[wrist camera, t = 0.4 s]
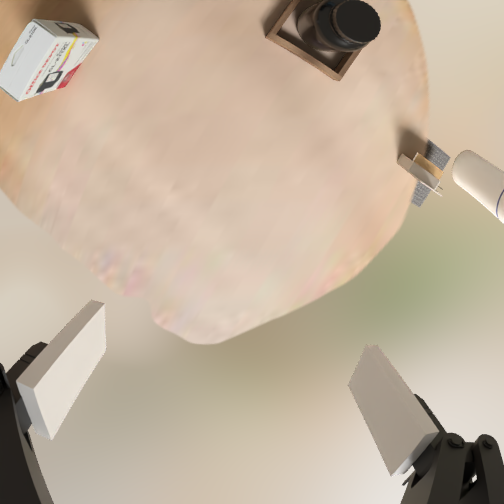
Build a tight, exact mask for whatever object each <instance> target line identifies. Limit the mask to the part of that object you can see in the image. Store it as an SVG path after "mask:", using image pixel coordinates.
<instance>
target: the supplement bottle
mask: <svg viewBox="0 0 504 504" xmlns="http://www.w3.org/2000/svg"><path fill="white" fill-rule="evenodd" d="M380 23H381V21H380V18H379V16H378V13H377V12H376V11H375V9H373V8H372V6H370V5H369V4H368V3H365V2H364V1H360V0H323V1H321V2H319V3H317V4H315V5H313V6H311V7H309V8H307V9H306V10H305V11H303V13H302V14H301V15H300V17H299V19H298V25H297V26H298V32H299V35H300V37H301V38H302V40H303V41H304V42H305V43H306V44H307V45H308V46H310V47H311V48H313V49H316V50H319V51H326V52H354V51H358V50H360V49H362V48H364V47H365V46H367V45H368V44H369V42H371V41H372V40H374V39H375V37H377V36H378V34H379V31H380V27H381V24H380Z"/></svg>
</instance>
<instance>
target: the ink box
mask: <svg viewBox="0 0 504 504" xmlns="http://www.w3.org/2000/svg"><path fill="white" fill-rule="evenodd" d="M98 41H99V38H98V37H96V36H95V35H94V34H93V33H92V32H90V31H89V30H88V29H86V28H85V27H83V26H82V25H81V24H77V23H70V22H62V21H53V20H42V19H33V20H32V21H31V22H30V23H28V25H27V26H26V28H25V29H24V31H23V32H22V34H21V36H20V37H19V39H18V41H17V43H16V44H15V46H14V48H13V49H12V51H11V52H10V54H9V56H8V58H7V60H6V62H5V64H4V65H3V67H2V69H1V72H0V88H1V89H2V90H3V91H4V92H5V93H7V94H8V95H9V96H10V97H12V98H13V99H14V100H16V101H17V102H19V101H22V100H25V99H28V98H30V97H33V96H36V95H39V94H43V93H46V92H49V91H53V90H56V89H59V88H63V87H65V86H66V85H67V83H68V82H69V80H70V79H71V77H72V76H73V74H74V73H75V71H76V70H77V68H78V67H79V66H80V64H81V63H82V62H83V60H84V59H85V58H86V56H87V55H88V54H89V52H90V51H91V50H92V49H93V47H94V46H95V45H96V43H97V42H98Z"/></svg>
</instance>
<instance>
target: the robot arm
mask: <svg viewBox="0 0 504 504" xmlns="http://www.w3.org/2000/svg"><path fill="white" fill-rule="evenodd" d="M105 351H106V332H105V303H101V302H98V301H94V300H91V301H90V302H89V303H88V304H87V305H86V306H85V307H84V308H83V309H82V310H81V311H80V312H79V313H78V314H77V315H76V316H75V317H74V318H73V319H72V320H71V321H70V322H69V323H68V324H67V325H66V326H65V327H64V328H63V329H62V330H61V331H60V333H58V335H57V336H56V337H55V338H54V339H53V340H52V341H51V342H50V343H49V344H46V343H43V342H39V343H37V344H35V345H33V346H32V347H31V348H30V349H28V351H27V352H26V353H25V355H23V356H22V357H21V358H20V360H18V361H17V362H16V363H15V364H14V365H13V366H12V368H11V369H10V370H9V371H8V372H7V373H5V370H4V367H3V365H2V364H1V363H0V504H54V503H53V501H52V498H51V496H50V494H49V491H48V489H47V486H46V484H45V481H44V478H43V476H42V473H41V470H40V467H39V464H38V461H37V458H36V455H35V452H34V449H33V445H32V442H31V438H30V435H29V432H28V429H29V427H30V426H31V424H32V426H33V428H34V430H35V432H36V433H37V434H39V435H41V436H43V437H45V438H47V439H49V440H51V441H52V440H53V438H54V436H55V434H56V432H57V431H58V429H59V427H60V425H61V423H62V422H63V420H64V418H65V417H66V415H67V413H68V411H69V410H70V408H71V406H72V404H73V403H74V401H75V399H76V398H77V396H78V394H79V393H80V391H81V389H82V388H83V386H84V385H85V383H86V381H87V379H88V378H89V376H90V375H91V373H92V372H93V370H94V368H95V367H96V365H97V364H98V362H99V360H100V359H101V357H102V356H103V354H104V353H105ZM348 386H349V388H350V390H351V392H352V394H353V396H354V399H355V401H356V403H357V405H358V407H359V409H360V411H361V413H362V415H363V417H364V420H365V421H366V424H367V426H368V428H369V430H370V432H371V434H372V436H373V438H374V441H375V443H376V445H377V447H378V449H379V451H380V454H381V456H382V458H383V460H384V462H385V464H386V467H387V469H388V471H389V473H390V475H391V476H396V475H400V474H404V473H406V472H407V471H408V469H409V468H410V467H411V466H412V465H413V467H414V469H415V471H414V472H413V473H412V474H411V475H410V476H409V477H408V478H407V479H406V480H405V481H404V483H403V484H402V485H405V484H406V483H407V482H408V485H407V488H406V491H405V493H404V496H403V499H402V501H401V504H504V465H503V460H502V457H501V453H500V450H499V446H498V443H497V441H496V440H495V439H494V438H493V437H491V436H490V435H486V434H482V435H480V436H479V437H478V439H477V440H476V441H475V442H474V443H473V442H465V441H464V439H463V438H462V437H461V436H459V435H457V434H455V433H447V432H446V431H445V430H444V428H443V427H442V425H441V424H440V422H439V421H438V420H437V418H436V417H435V415H434V414H433V413H432V411H431V410H430V409H429V407H428V406H427V404H426V403H425V402H424V400H423V399H421V398H420V397H419V396H418V395H416V394H413V393H412V391H411V390H410V389H409V387H408V386H407V384H406V383H405V382H404V381H403V379H402V377H401V376H400V375H399V373H398V372H397V371H396V369H395V368H394V367H393V365H392V364H391V363H390V361H389V360H388V359H387V357H386V356H385V354H384V353H383V352H382V350H381V349H380V348H379V346H377V345H366V346H365V348H364V351H363V353H362V355H361V357H360V360H359V362H358V365H357V367H356V369H355V371H354V373H353V375H352V378H351V380H350V382H349V384H348ZM475 475H477V480H476V481H475V482H472V478H473V477H474V476H475Z"/></svg>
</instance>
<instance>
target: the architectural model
mask: <svg viewBox="0 0 504 504" xmlns="http://www.w3.org/2000/svg"><path fill="white" fill-rule="evenodd" d="M397 162H398V163H397V164H399V165H400V166H401V167H402V168H404V169H405V170H406V171H407V172H409V173H410V174H411V175H412V176H414V177H415V178H416V179H417V181H418V182H420V183H421V184H422V185H424V186H425V187H427V188H428V189H430V190H433V191H434V192H435V193H437V194H438V195H440V196H441V197H442V195H441V194H440V193H439V192H437V191H436V188H437V186H438V185H439V183H440V181H439V179H440V178H441V176H442V174H443V170H441V169H440V168H439V167H438V166H436V165H435V164H434V163H432V162H431V161H430V160H428V159H427V158H426V157H423V156H422V155H420V154H419V153H417V154H416V155H415V157H414V159H413V161H412V160H411V159H409V158H408V157H407V156H405V155H404V154H401V156H400V158H399V159H398V161H397Z"/></svg>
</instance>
